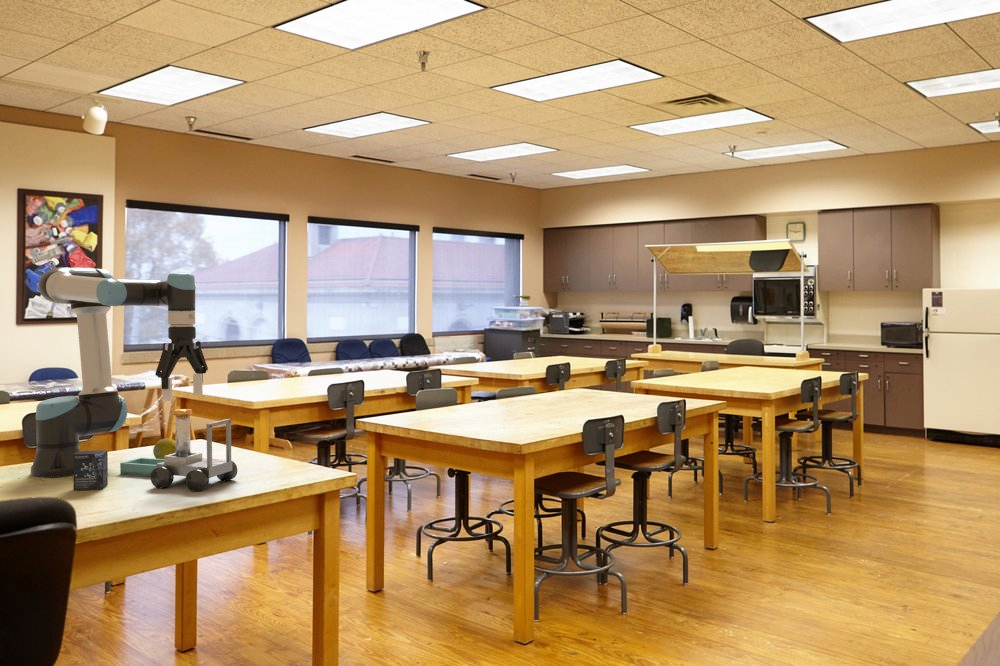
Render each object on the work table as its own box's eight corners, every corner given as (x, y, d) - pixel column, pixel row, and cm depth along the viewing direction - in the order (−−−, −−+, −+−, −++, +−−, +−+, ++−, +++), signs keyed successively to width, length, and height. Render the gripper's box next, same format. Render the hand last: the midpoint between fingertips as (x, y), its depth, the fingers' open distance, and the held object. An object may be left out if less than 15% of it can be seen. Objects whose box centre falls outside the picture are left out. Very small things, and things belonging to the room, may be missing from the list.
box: (73, 491, 229) (72, 454, 228) (79, 486, 234) (78, 450, 234) (103, 489, 231) (102, 453, 230) (108, 485, 236) (107, 449, 236)
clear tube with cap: (170, 462, 237) (169, 410, 237) (181, 459, 242) (181, 408, 242) (184, 463, 236) (184, 411, 235) (196, 460, 241) (195, 409, 240)
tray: (120, 474, 251) (120, 463, 251) (141, 468, 259) (140, 457, 259) (155, 477, 247) (155, 465, 247) (175, 471, 256) (174, 460, 255)
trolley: (150, 487, 233) (149, 422, 232) (187, 476, 248) (186, 414, 248) (203, 492, 228) (202, 425, 227) (237, 480, 243) (237, 417, 242)
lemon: (148, 461, 270) (148, 438, 269) (171, 458, 275) (170, 435, 275) (163, 466, 262) (162, 442, 262) (186, 463, 268) (186, 439, 268)
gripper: (163, 327, 224) (164, 403, 225) (219, 324, 248) (220, 393, 249) (141, 327, 226) (142, 402, 227) (198, 324, 250) (199, 392, 251)
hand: (183, 397), depth 238 cm, fingers open, 13 cm apart
